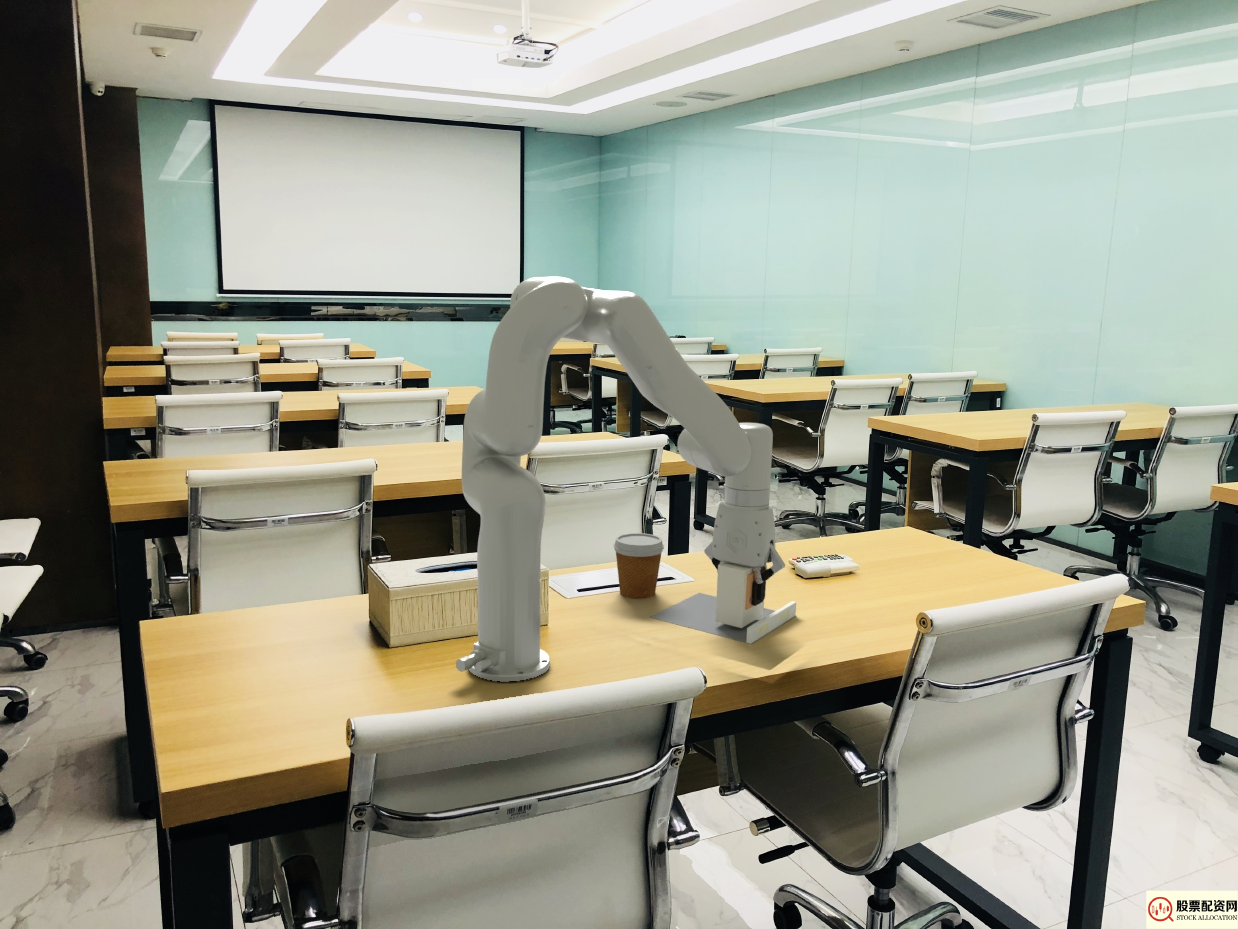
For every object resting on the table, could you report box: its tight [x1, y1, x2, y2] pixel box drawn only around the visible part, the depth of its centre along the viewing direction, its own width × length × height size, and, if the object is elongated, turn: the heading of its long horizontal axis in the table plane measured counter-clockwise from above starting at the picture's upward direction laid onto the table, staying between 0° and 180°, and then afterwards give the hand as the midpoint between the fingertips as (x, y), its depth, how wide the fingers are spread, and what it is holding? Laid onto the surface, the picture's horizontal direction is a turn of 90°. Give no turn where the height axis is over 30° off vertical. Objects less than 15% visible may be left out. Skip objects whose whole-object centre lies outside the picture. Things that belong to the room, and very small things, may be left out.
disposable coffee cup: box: [612, 532, 665, 600], centre depth 174 cm, size 10×10×12 cm
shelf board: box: [649, 592, 797, 645], centre depth 163 cm, size 17×20×4 cm
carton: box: [716, 562, 765, 628], centre depth 159 cm, size 5×8×10 cm
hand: (741, 598), depth 159 cm, fingers closed on carton, 5 cm apart
